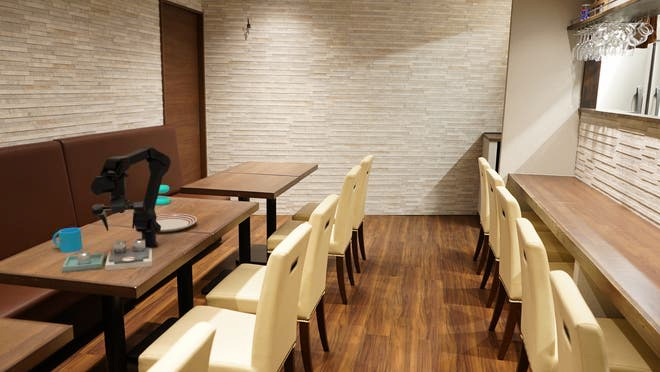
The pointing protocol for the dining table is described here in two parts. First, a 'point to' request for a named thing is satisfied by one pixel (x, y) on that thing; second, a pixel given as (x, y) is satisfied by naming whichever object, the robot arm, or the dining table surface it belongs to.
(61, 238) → the mug
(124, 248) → the cylinder
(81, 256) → the cylinder
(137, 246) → the cylinder
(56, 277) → the dining table surface
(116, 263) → the scale
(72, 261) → the tray
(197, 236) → the dining table surface
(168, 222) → the dinner plate
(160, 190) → the donuts
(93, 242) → the dining table surface
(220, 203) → the dining table surface
